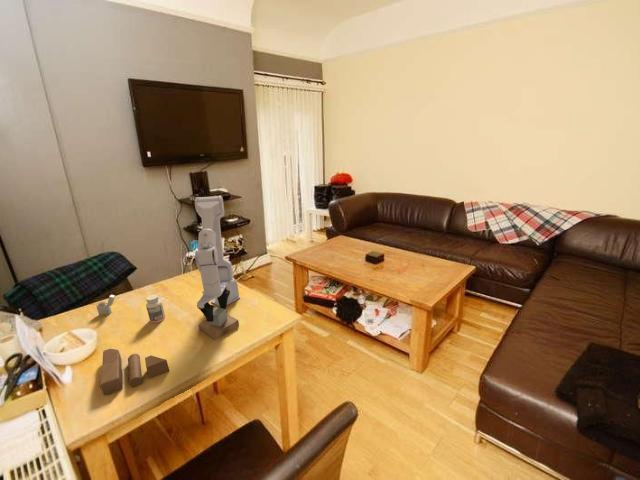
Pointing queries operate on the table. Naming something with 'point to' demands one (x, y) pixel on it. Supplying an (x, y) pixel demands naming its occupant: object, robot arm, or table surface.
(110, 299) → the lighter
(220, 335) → the walnut block
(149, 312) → the pill bottle
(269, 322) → the table surface
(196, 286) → the table surface
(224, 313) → the grey cube
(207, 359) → the table surface
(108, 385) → the wooden block set
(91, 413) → the table surface
